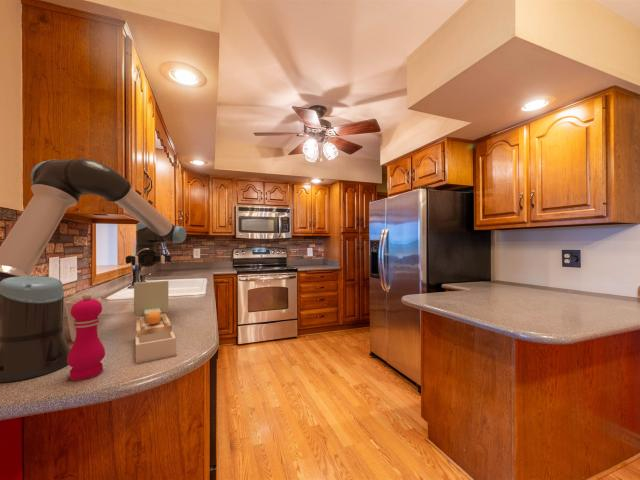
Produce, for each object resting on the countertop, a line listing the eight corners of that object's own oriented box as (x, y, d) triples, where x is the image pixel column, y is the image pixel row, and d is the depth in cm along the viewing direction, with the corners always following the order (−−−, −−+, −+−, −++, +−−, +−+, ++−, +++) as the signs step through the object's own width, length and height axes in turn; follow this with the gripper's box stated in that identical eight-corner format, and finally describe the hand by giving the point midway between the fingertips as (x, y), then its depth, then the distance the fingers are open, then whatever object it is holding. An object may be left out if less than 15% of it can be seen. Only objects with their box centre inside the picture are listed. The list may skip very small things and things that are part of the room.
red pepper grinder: (85, 343, 91) (85, 303, 91) (57, 343, 91) (57, 303, 91) (108, 334, 100) (108, 297, 100) (82, 334, 100) (82, 297, 100)
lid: (134, 324, 87) (134, 286, 87) (133, 318, 94) (134, 282, 94) (170, 319, 92) (170, 283, 93) (167, 313, 100) (167, 280, 100)
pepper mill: (109, 372, 71) (110, 292, 71) (72, 384, 65) (72, 297, 65) (98, 365, 75) (98, 289, 75) (62, 376, 69) (63, 293, 69)
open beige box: (135, 363, 75) (136, 345, 76) (135, 352, 83) (135, 335, 83) (175, 355, 81) (175, 338, 81) (171, 345, 89) (171, 329, 89)
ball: (146, 327, 85) (146, 313, 85) (145, 323, 88) (145, 311, 88) (161, 324, 87) (161, 311, 87) (160, 321, 90) (160, 309, 90)
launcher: (136, 355, 81) (136, 327, 81) (135, 338, 95) (135, 314, 95) (171, 348, 86) (171, 322, 86) (165, 333, 100) (165, 311, 100)
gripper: (173, 265, 126) (181, 269, 107) (117, 267, 115) (115, 272, 96) (173, 248, 126) (181, 249, 107) (117, 249, 115) (115, 250, 96)
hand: (150, 260), depth 102 cm, fingers open, 8 cm apart
